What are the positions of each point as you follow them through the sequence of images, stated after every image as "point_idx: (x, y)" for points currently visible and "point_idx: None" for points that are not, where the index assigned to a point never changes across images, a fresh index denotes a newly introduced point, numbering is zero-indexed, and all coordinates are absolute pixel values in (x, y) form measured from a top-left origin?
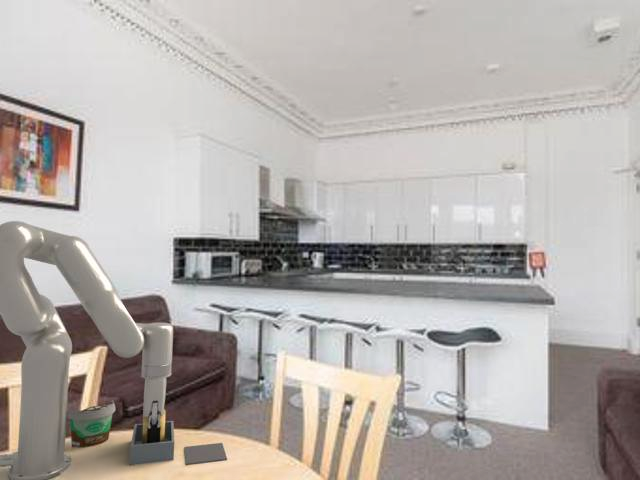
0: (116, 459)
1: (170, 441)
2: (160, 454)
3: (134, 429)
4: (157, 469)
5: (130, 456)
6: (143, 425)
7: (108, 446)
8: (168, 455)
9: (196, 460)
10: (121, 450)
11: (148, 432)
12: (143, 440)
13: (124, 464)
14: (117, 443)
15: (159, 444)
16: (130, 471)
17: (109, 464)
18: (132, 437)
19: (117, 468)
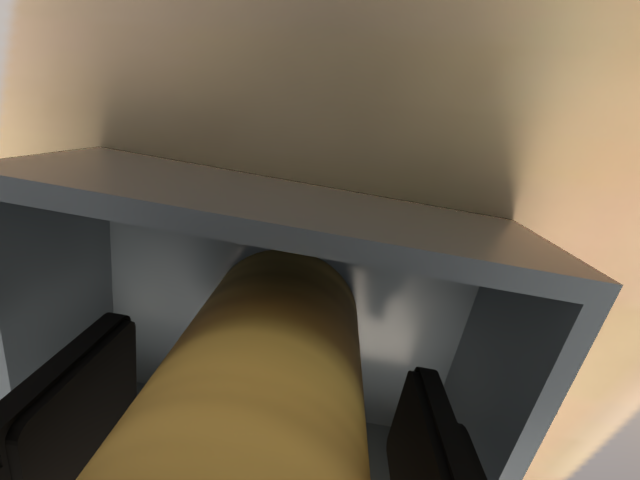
0: (259, 65)
1: None
2: None
3: (445, 261)
4: None
5: (39, 156)
6: (191, 396)
7: (565, 11)
8: None
9: None
10: (414, 117)
11: (19, 396)
12: (230, 296)
13: (153, 117)
14: (583, 96)
15: (1, 397)
16: (37, 145)
17: (186, 2)
18: (200, 212)
19: (101, 61)
